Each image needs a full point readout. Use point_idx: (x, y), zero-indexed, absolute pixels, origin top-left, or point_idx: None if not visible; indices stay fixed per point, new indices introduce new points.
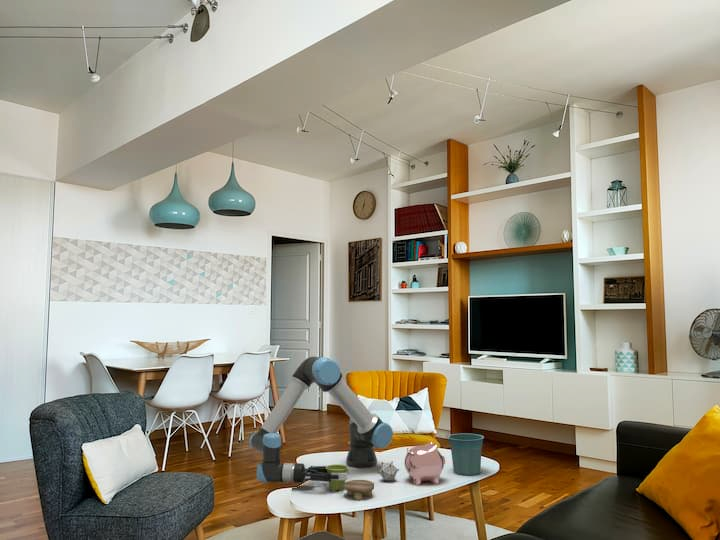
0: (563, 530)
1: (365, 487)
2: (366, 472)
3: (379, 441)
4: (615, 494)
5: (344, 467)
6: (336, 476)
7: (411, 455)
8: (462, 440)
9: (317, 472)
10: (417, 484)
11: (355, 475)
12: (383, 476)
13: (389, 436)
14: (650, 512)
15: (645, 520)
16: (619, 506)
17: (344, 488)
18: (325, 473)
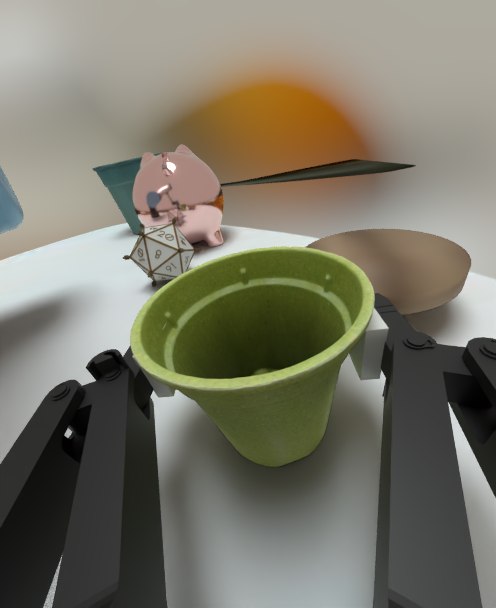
0: (392, 165)
1: (415, 233)
2: (34, 341)
3: (7, 188)
4: (261, 179)
5: (194, 286)
6: (389, 307)
7: (190, 173)
8: (156, 154)
9: (459, 587)
10: (223, 240)
11: (46, 369)
12: (179, 267)
13: (3, 173)
14: (308, 168)
15: (330, 165)
16: (296, 173)
17: (439, 303)
18: (422, 388)
